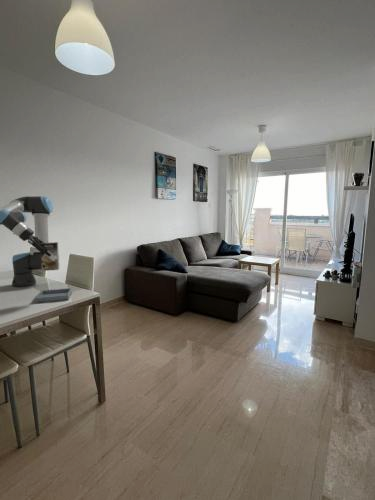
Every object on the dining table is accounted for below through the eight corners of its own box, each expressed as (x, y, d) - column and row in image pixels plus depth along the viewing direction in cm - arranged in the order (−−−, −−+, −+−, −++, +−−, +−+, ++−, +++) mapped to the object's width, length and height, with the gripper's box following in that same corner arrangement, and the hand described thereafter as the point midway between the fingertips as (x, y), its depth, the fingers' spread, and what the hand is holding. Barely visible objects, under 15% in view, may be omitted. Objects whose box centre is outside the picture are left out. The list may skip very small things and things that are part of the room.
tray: (41, 295, 165) (41, 290, 164) (72, 292, 170) (71, 288, 169) (34, 303, 150) (34, 298, 149) (68, 300, 155) (68, 295, 154)
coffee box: (41, 271, 150) (39, 243, 148) (43, 269, 155) (41, 242, 153) (58, 269, 153) (56, 243, 151) (59, 267, 159) (58, 242, 157)
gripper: (24, 235, 157) (55, 260, 163) (12, 238, 138) (48, 266, 145) (33, 226, 157) (64, 251, 164) (22, 228, 139) (58, 256, 145)
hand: (56, 258), depth 154 cm, fingers closed on coffee box, 7 cm apart
